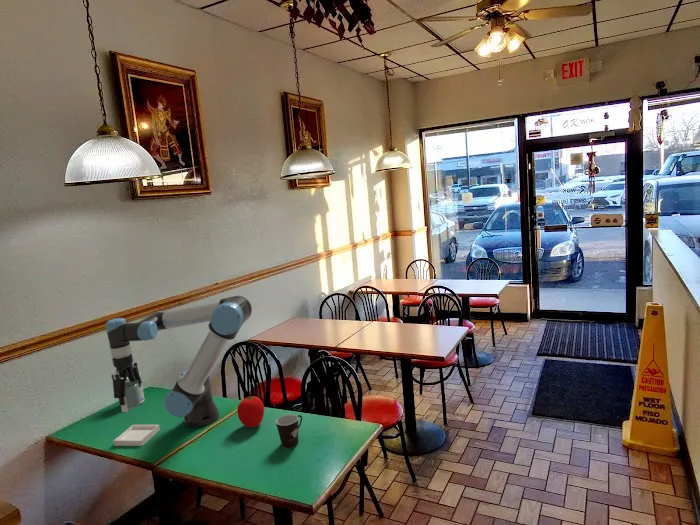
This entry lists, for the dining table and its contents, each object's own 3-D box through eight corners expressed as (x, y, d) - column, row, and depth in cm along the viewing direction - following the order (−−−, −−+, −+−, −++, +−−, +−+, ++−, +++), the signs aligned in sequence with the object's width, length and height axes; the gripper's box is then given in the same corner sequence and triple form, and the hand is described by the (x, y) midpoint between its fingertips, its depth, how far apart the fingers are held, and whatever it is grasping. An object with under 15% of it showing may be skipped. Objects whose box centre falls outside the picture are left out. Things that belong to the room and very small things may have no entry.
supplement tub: (126, 409, 235) (120, 381, 232) (122, 403, 242) (117, 376, 240) (147, 402, 240) (142, 375, 238) (142, 396, 248) (137, 370, 245)
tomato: (248, 435, 197) (243, 406, 195) (235, 427, 205) (231, 399, 203) (271, 424, 204) (267, 396, 202) (258, 416, 212) (254, 389, 210)
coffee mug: (283, 452, 181) (280, 427, 180) (276, 442, 189) (272, 419, 187) (311, 442, 186) (308, 418, 185) (303, 432, 194) (300, 409, 192)
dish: (160, 429, 210) (159, 424, 210) (142, 445, 197) (141, 440, 197) (133, 429, 213) (132, 424, 212) (114, 445, 200) (113, 440, 200)
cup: (134, 411, 198) (129, 388, 197) (118, 411, 200) (113, 389, 198) (145, 402, 206) (141, 380, 204) (129, 403, 207) (125, 381, 206)
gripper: (129, 347, 210) (138, 395, 213) (96, 365, 190) (107, 418, 193) (144, 346, 208) (153, 395, 212) (113, 364, 188) (124, 418, 192)
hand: (131, 406), depth 203 cm, fingers closed on cup, 8 cm apart
